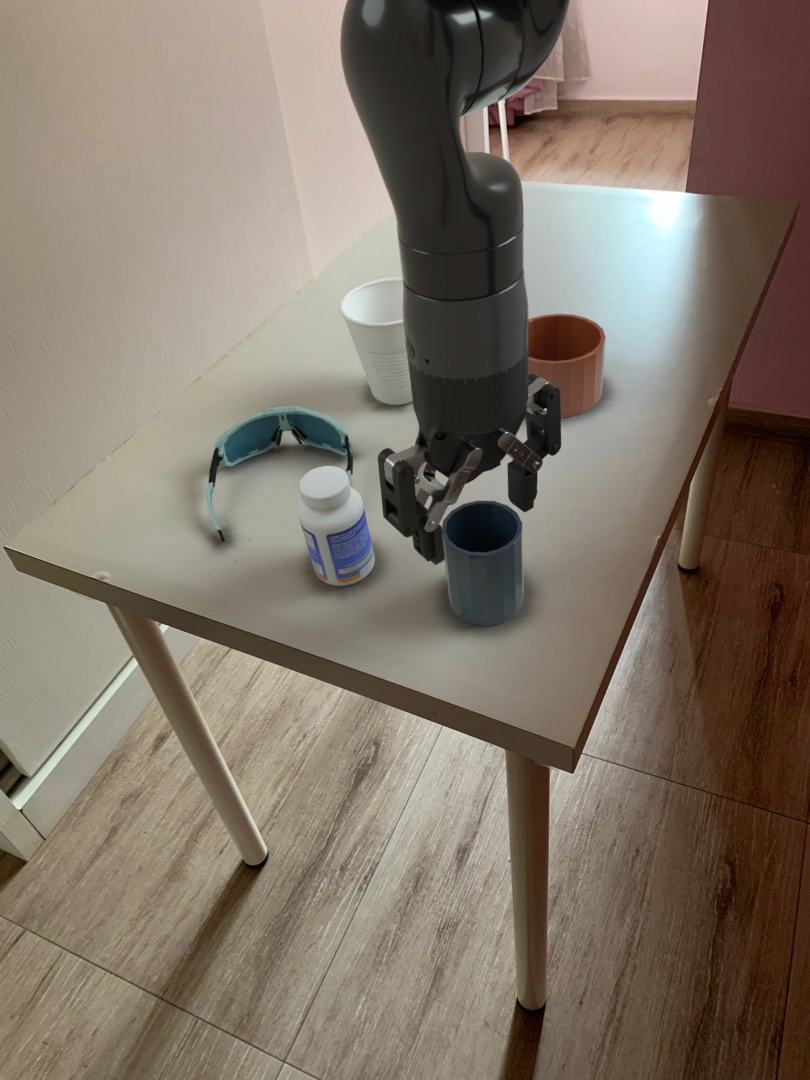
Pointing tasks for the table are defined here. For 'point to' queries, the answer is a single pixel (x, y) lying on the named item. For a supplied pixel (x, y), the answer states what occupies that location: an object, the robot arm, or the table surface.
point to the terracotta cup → (568, 358)
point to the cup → (380, 337)
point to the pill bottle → (335, 527)
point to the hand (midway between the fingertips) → (477, 530)
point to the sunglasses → (276, 440)
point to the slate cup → (484, 562)
